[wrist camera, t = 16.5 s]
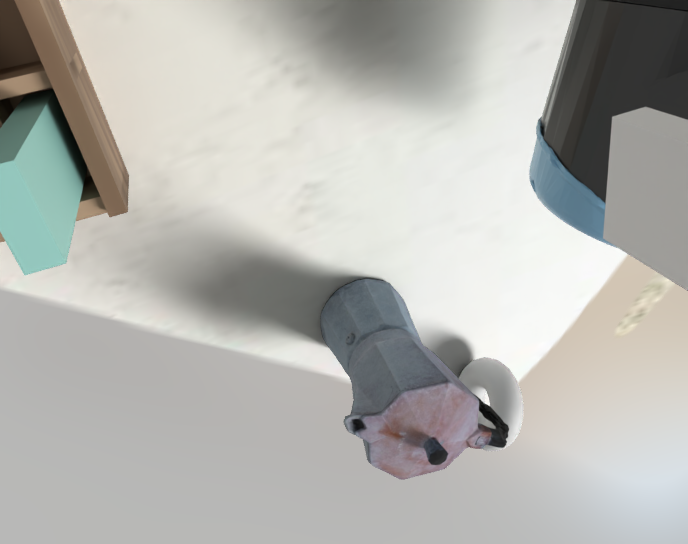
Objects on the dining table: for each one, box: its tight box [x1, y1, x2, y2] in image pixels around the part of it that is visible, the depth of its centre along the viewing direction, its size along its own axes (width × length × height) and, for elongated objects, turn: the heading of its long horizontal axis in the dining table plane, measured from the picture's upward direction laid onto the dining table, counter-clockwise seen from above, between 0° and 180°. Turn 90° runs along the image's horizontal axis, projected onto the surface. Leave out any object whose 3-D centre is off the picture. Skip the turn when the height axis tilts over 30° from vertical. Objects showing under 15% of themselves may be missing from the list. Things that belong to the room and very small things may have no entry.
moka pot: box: [321, 278, 509, 479], centre depth 50 cm, size 10×15×20 cm, turn 74°
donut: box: [458, 357, 524, 451], centre depth 63 cm, size 10×3×10 cm, turn 167°
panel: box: [0, 89, 87, 275], centre depth 34 cm, size 2×6×16 cm, turn 11°
